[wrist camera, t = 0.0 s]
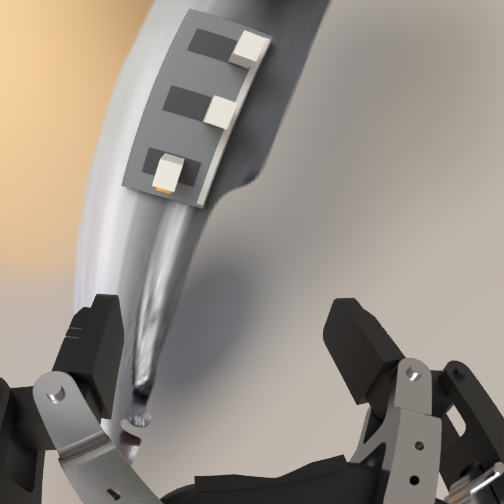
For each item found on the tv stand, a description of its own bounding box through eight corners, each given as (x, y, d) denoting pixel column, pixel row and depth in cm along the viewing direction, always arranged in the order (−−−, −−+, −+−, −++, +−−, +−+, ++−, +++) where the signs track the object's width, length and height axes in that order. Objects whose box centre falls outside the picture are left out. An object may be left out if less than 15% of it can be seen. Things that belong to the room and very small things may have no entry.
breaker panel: (189, 13, 26) (189, 8, 24) (269, 40, 29) (273, 36, 27) (125, 181, 34) (121, 185, 32) (202, 204, 38) (203, 209, 36)
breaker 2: (212, 98, 30) (214, 95, 25) (232, 105, 30) (237, 103, 26) (202, 121, 31) (203, 121, 26) (222, 127, 32) (227, 129, 27)
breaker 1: (165, 152, 32) (160, 158, 27) (184, 158, 32) (182, 165, 28) (157, 176, 33) (151, 185, 28) (176, 181, 34) (174, 192, 29)
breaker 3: (237, 41, 27) (244, 30, 22) (257, 48, 28) (266, 38, 23) (228, 61, 28) (233, 53, 24) (247, 68, 29) (256, 61, 24)
